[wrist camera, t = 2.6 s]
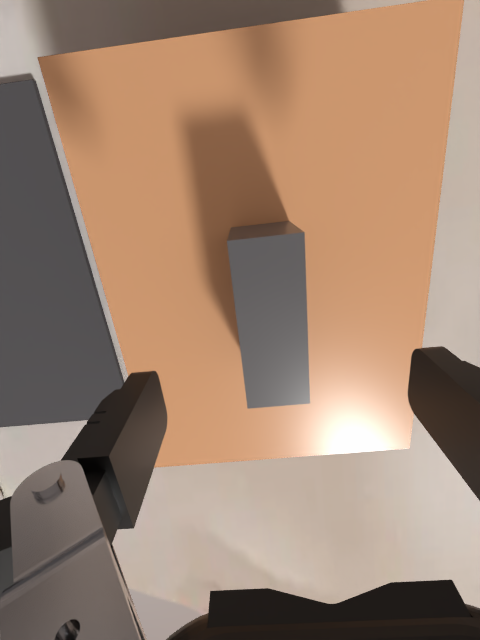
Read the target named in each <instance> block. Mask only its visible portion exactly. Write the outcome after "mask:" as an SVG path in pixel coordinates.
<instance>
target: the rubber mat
mask: <svg viewBox="0 0 480 640" xmlns="http://www.w3.org/2000/svg"><path fill="white" fill-rule="evenodd" d="M123 384H124V380H123V377H122V373H121V370H120V366H119V363H118V360H117V356H116V353H115V349H114V346H113V343H112V339H111V336H110V332H109V329H108V326H107V322H106V319H105V315H104V312H103V309H102V305H101V302H100V298H99V295H98V292H97V288H96V285H95V281H94V278H93V275H92V271H91V268H90V264H89V261H88V258H87V254H86V251H85V247H84V244H83V241H82V237H81V234H80V230H79V227H78V223H77V220H76V217H75V213H74V210H73V206H72V203H71V200H70V196H69V193H68V189H67V186H66V183H65V179H64V176H63V172H62V169H61V166H60V162H59V159H58V155H57V152H56V149H55V145H54V142H53V138H52V135H51V132H50V128H49V125H48V121H47V118H46V115H45V111H44V108H43V104H42V101H41V98H40V94H39V91H38V87H37V84H36V81H34V80H26V81H19V82H12V83H5V84H0V427H9V426H21V425H33V424H45V423H57V422H69V421H81V420H89V418H90V417H91V415H92V414H94V411H95V410H96V408H97V407H98V405H99V404H100V402H101V401H102V400H103V399H104V398H105V397H107V396H108V395H109V394H110V393H112V392H113V391H114V390H116V389H121V388H122V386H123Z"/></svg>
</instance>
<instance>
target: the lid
mask: <svg viewBox="0 0 480 640" xmlns="http://www.w3.org/2000/svg"><path fill="white" fill-rule="evenodd" d="M463 5H464V0H428V1H421V2H414V3H407V4H401V5H394V6H387V7H380V8H373V9H366V10H359V11H353V12H346V13H339V14H332V15H325V16H318V17H311V18H304V19H298V20H291V21H284V22H277V23H270V24H263V25H256V26H250V27H243V28H236V29H229V30H222V31H215V32H208V33H202V34H195V35H188V36H181V37H174V38H167V39H160V40H154V41H147V42H140V43H133V44H126V45H119V46H112V47H105V48H99V49H92V50H85V51H78V52H71V53H64V54H57V55H51V56H44V57H38V60H39V64H40V67H41V71H42V74H43V78H44V82H45V85H46V89H47V92H48V96H49V99H50V103H51V106H52V110H53V113H54V117H55V120H56V124H57V127H58V131H59V134H60V138H61V141H62V145H63V148H64V152H65V155H66V159H67V162H68V166H69V169H70V173H71V176H72V180H73V183H74V187H75V190H76V194H77V197H78V201H79V204H80V208H81V211H82V215H83V218H84V222H85V225H86V229H87V232H88V236H89V239H90V243H91V246H92V250H93V253H94V257H95V260H96V264H97V267H98V271H99V274H100V278H101V281H102V285H103V288H104V292H105V295H106V299H107V302H108V306H109V309H110V313H111V316H112V320H113V323H114V327H115V330H116V334H117V337H118V341H119V344H120V348H121V351H122V355H123V358H124V362H125V366H126V369H127V373H128V376H129V375H130V374H131V373H134V372H145V371H156V372H157V374H158V376H159V380H160V384H161V389H162V393H163V397H164V401H165V405H166V410H167V429H166V432H165V435H164V438H163V441H162V444H161V447H160V450H159V453H158V457H157V460H156V463H155V466H154V467H167V466H180V465H194V464H207V463H221V462H234V461H247V460H261V459H274V458H288V457H301V456H315V455H328V454H341V453H355V452H368V451H382V450H395V449H409V448H410V441H411V432H412V424H413V416H414V413H413V411H412V409H411V407H410V404H409V401H408V384H409V374H410V365H411V356H412V353H413V351H414V350H415V349H418V348H422V342H423V334H424V326H425V317H426V309H427V301H428V293H429V284H430V276H431V268H432V260H433V252H434V243H435V235H436V227H437V219H438V210H439V202H440V194H441V186H442V177H443V169H444V161H445V153H446V145H447V136H448V128H449V120H450V112H451V103H452V95H453V87H454V79H455V71H456V62H457V54H458V46H459V38H460V29H461V21H462V13H463Z"/></svg>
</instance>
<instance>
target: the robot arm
mask: <svg viewBox="0 0 480 640" xmlns="http://www.w3.org/2000/svg"><path fill="white" fill-rule="evenodd" d="M408 401H409V404H410V407H411V409H412V411H413V413H414V414H415V415H416V417H417V418H418V419H419V421H420V422H421V423H422V425H423V426H424V427H425V429H426V430H427V431H428V433H429V434H430V435H431V437H432V438H433V439H434V441H435V442H436V443H437V445H438V446H439V447H440V449H441V450H442V451H443V453H444V454H445V455H446V457H447V458H448V459H449V461H450V462H451V463H452V465H453V466H454V467H455V468H456V470H457V471H458V472H459V474H460V475H461V476H462V478H463V479H464V480H465V482H466V483H467V484H468V486H469V487H470V488H471V490H472V491H473V492H474V494H475V495H476V496H477V498H478V499H479V500H480V368H479V367H477V366H475V365H472V364H470V363H468V362H466V361H461V360H460V359H459V358H458V357H456V356H455V355H454V354H452V353H451V352H450V351H449V350H447V349H446V348H445V347H429V348H418V349H415V350H414V351H413V353H412V356H411V365H410V374H409V384H408ZM166 429H167V410H166V405H165V401H164V397H163V393H162V389H161V384H160V380H159V376H158V374H157V372H156V371H145V372H134V373H131V374H130V375H129V376H128V378H127V380H126V381H125V383H124V384H123V386H122V388H121V389H116V390H114V391H113V392H112V393H110V394H109V395H108V396H107V397H105V398H104V399H103V400H102V401H101V402H100V404H99V405H98V407H97V408H96V410H95V411H94V414H92V415H91V417H90V418H89V420H88V421H87V425H85V426H84V427H83V429H82V430H81V432H80V433H79V434H78V436H77V437H76V439H75V440H74V442H73V443H72V445H71V446H70V448H69V449H68V451H67V452H66V453H65V455H64V456H63V458H62V459H61V461H58V462H54V463H51V464H49V465H46V466H44V467H42V468H40V469H39V470H37V471H35V472H34V473H32V474H31V475H30V476H28V477H27V478H26V479H25V480H24V481H23V482H22V483H21V484H20V485H19V486H18V488H17V489H16V490H15V492H14V494H13V495H12V496H11V497H8V498H5V499H2V500H0V640H147V639H146V637H145V634H144V631H143V628H142V626H141V623H140V620H139V618H138V615H137V612H136V609H135V606H134V603H133V601H132V598H131V595H130V592H129V589H128V586H127V584H126V581H125V578H124V575H123V572H122V570H121V567H120V564H119V561H118V558H117V556H116V553H115V550H114V547H113V545H112V542H113V539H114V537H115V534H116V531H117V529H129V528H134V526H135V523H136V520H137V517H138V514H139V511H140V508H141V505H142V502H143V499H144V496H145V493H146V490H147V487H148V484H149V481H150V478H151V475H152V472H153V469H154V466H155V463H156V460H157V457H158V453H159V450H160V447H161V444H162V441H163V438H164V435H165V432H166ZM166 640H480V608H477V607H474V606H471V605H467V604H465V603H464V602H463V600H462V598H461V596H460V594H459V592H458V590H457V588H456V586H455V585H454V583H453V581H452V580H437V581H416V582H394V583H389V584H386V585H383V586H381V587H378V588H376V589H373V590H371V591H368V592H365V593H363V594H360V595H358V596H355V597H353V598H350V599H348V600H345V601H342V602H340V603H336V604H326V603H322V602H318V601H315V600H311V599H307V598H303V597H299V596H295V595H291V594H288V593H284V592H280V591H276V590H272V589H268V588H266V589H245V590H223V591H210V602H209V613H207V614H205V615H202V616H200V617H198V618H196V619H194V620H193V621H191V622H189V623H187V624H186V625H184V626H183V627H181V628H180V629H179V630H177V631H176V632H174V633H173V634H172V635H171V636H170V637H169V638H167V639H166Z"/></svg>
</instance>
